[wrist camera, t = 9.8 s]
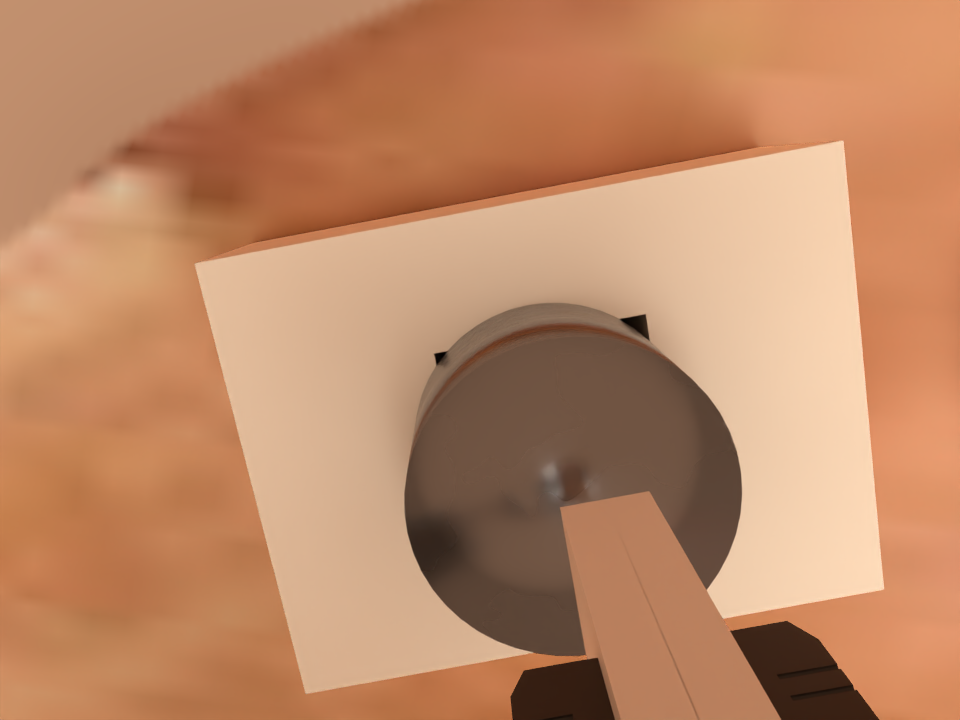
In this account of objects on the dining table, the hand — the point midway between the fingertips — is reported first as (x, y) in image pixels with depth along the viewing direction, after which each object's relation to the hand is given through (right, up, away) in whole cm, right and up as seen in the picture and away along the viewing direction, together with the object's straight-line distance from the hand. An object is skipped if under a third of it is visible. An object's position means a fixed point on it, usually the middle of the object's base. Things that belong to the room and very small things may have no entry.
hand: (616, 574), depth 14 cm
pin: (-1, +3, +13) cm, 14 cm away
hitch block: (0, +3, +14) cm, 14 cm away
